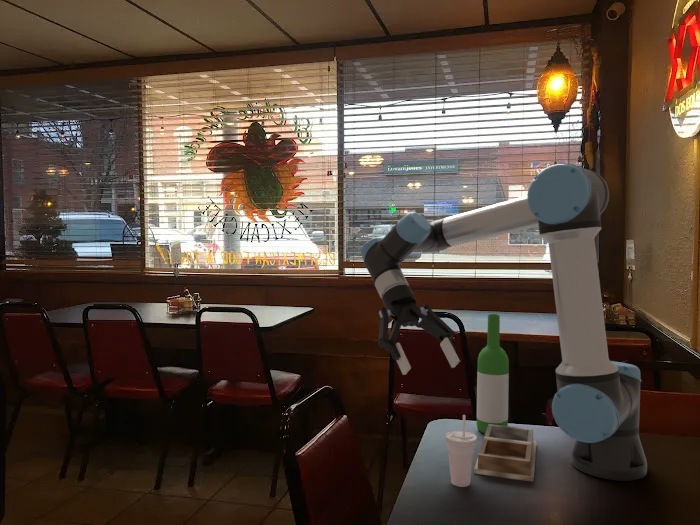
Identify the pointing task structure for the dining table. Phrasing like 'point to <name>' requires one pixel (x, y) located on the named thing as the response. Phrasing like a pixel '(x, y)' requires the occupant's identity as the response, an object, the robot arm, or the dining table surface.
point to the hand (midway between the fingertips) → (432, 368)
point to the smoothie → (461, 455)
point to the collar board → (507, 453)
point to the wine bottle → (492, 380)
